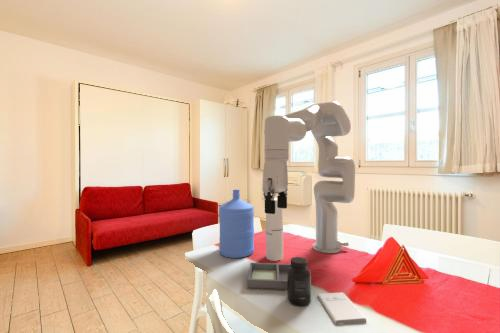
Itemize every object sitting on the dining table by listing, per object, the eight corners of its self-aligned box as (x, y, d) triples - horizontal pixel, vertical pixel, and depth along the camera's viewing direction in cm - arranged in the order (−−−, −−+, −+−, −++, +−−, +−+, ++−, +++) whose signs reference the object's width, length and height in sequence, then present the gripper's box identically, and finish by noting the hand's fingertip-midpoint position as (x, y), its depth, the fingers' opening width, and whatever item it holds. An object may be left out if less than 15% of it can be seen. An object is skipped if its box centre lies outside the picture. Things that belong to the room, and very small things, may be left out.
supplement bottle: (315, 299, 73) (315, 260, 72) (302, 310, 68) (302, 267, 67) (295, 291, 78) (295, 253, 77) (282, 300, 73) (282, 260, 72)
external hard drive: (335, 326, 62) (317, 298, 74) (366, 324, 63) (343, 297, 75) (335, 320, 62) (317, 293, 74) (366, 318, 63) (343, 291, 75)
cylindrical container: (282, 261, 100) (282, 200, 99) (265, 260, 101) (264, 200, 101) (283, 254, 107) (283, 197, 106) (267, 253, 108) (267, 197, 108)
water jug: (261, 253, 109) (260, 190, 108) (230, 262, 100) (229, 193, 99) (242, 243, 122) (241, 187, 121) (213, 250, 113) (212, 189, 112)
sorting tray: (304, 272, 90) (304, 264, 90) (310, 291, 77) (310, 282, 77) (250, 270, 92) (250, 262, 92) (247, 288, 79) (247, 279, 79)
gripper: (276, 156, 86) (276, 205, 87) (252, 155, 71) (252, 214, 71) (296, 156, 83) (296, 207, 83) (276, 155, 67) (276, 217, 68)
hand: (276, 210), depth 77 cm, fingers open, 9 cm apart
